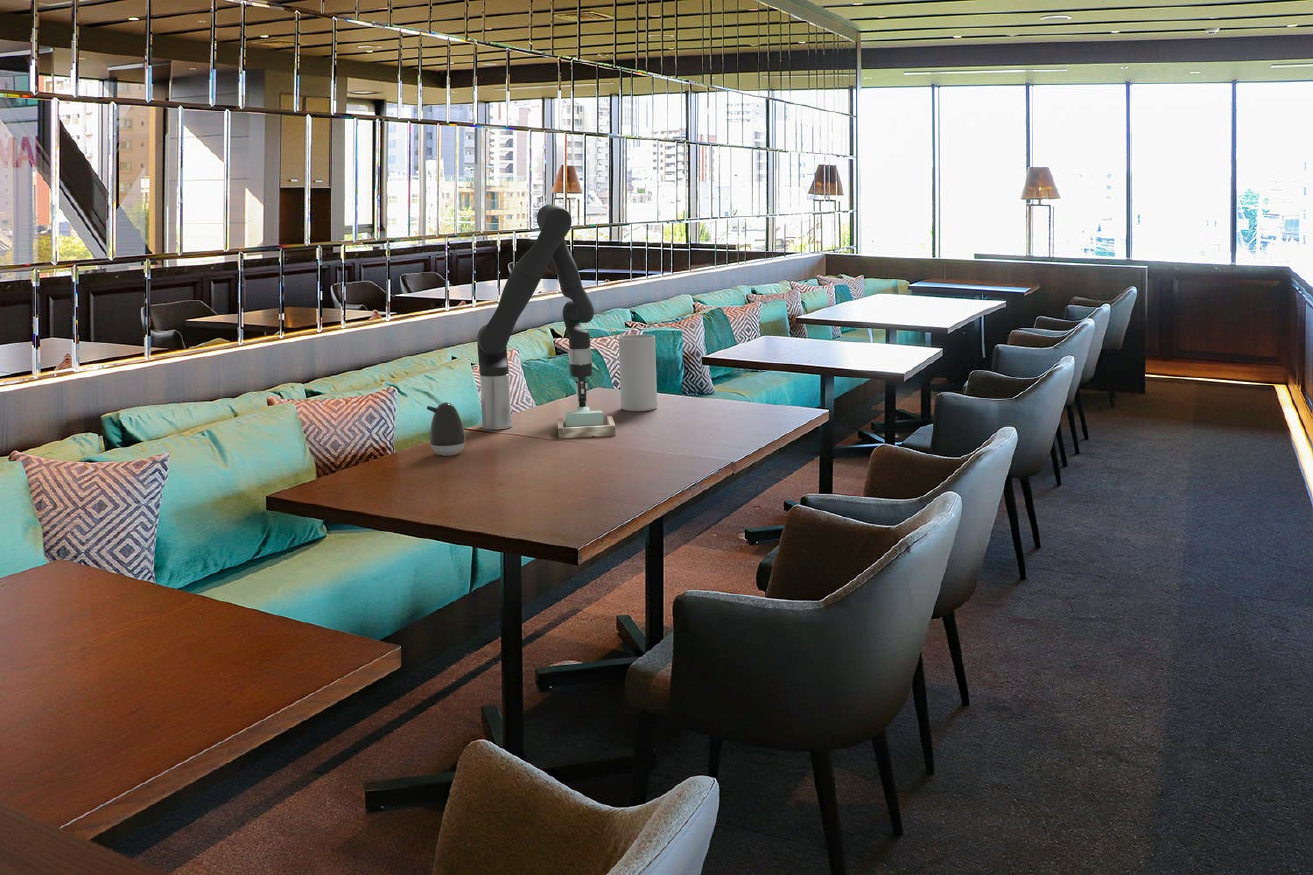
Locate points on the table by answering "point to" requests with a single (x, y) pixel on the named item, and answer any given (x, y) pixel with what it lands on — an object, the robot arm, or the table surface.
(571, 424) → the t block
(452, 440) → the pump dispenser
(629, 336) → the cylinder vase
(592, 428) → the shallow wooden tray
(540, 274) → the robot arm
